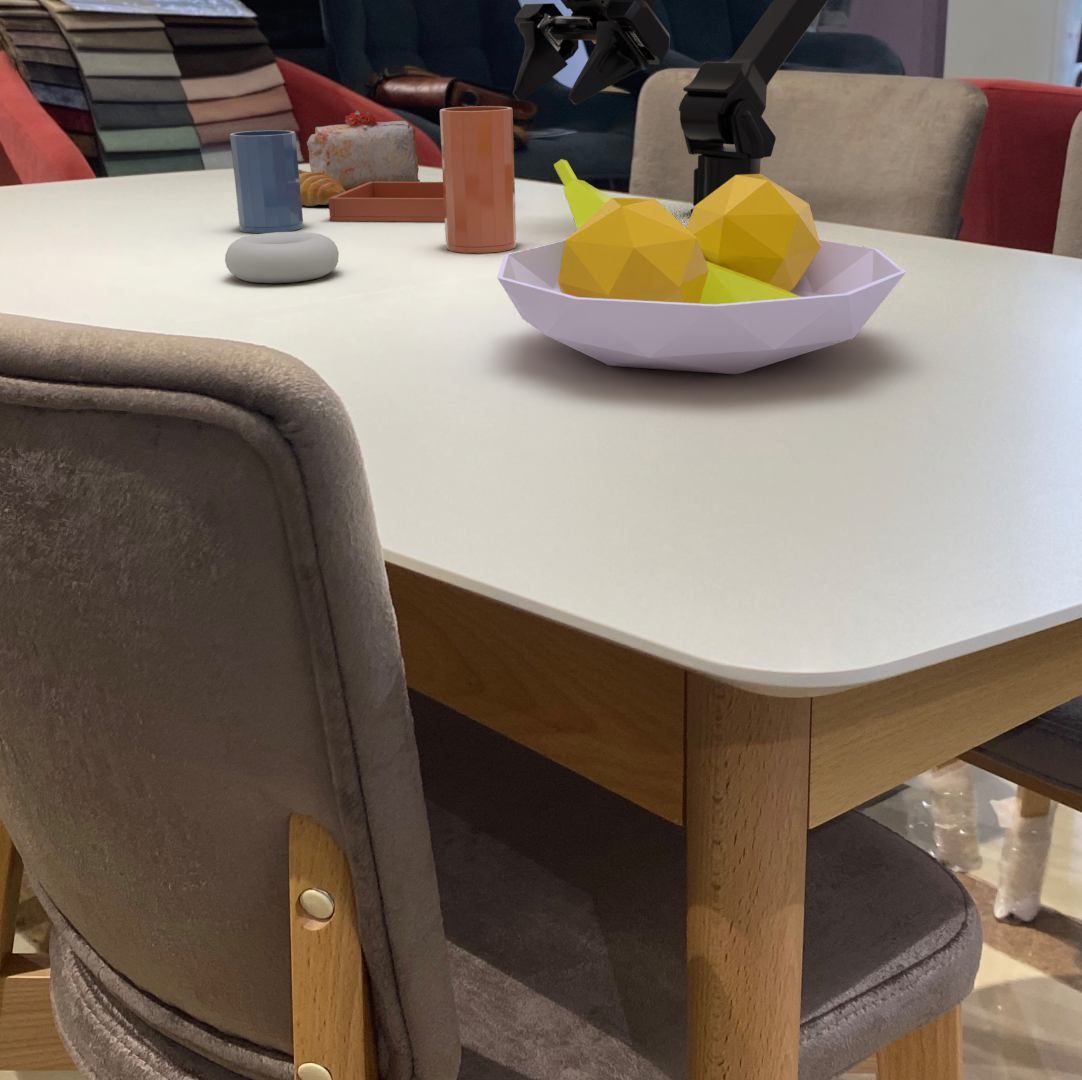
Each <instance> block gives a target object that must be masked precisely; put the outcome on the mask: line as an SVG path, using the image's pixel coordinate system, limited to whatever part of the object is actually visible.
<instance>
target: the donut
mask: <svg viewBox="0 0 1082 1080" xmlns="http://www.w3.org/2000/svg"><path fill="white" fill-rule="evenodd" d="M339 254H340V253H339V249H338V246H337V245H336V243H335V241H334V240H332V239H331V238H330V237H328V236H326V235H325V234H324V235H323V234H322V233H317V232H308V231H307V232H306V231H288V232H275V233H256V234H251V235H246V236H242V237H240V238H238V239H236V240H234V241H232V242H231V243H230V245H229V246H228V247H227V250H226V252H225V255H224V262H225V266H226V268H227V270H228V271H229V272H230V273H231V275H233V276H234V277H236V278H237V279H239V280H242V281H244V282H249V283H256V284H290V283H298V282H306V281H313V280H316V279H319V278H323V277H325V276H326V275H328V274H330V273H332V272H333V271H334V270H335V269H336V268H337V265H338V263H339V256H340V255H339Z"/></svg>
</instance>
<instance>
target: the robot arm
mask: <svg viewBox="0 0 1082 1080" xmlns="http://www.w3.org/2000/svg"><path fill="white" fill-rule="evenodd" d="M828 1H829V0H773V1H772V2H771V3H770V4H769V6H768V8H767V9H766V10H765V11H764V13H763V15H762V16H761V17H760V18H759V20H758V21H757V22H756V24H755V26H754V27H753V28H752V29H751V31H750V32H749V33H748V35H747V36H746V37H745V39H744V40H743V42H742V43H741V44H740V46H739V47H738V49H737V50H736V51H735V53H734V54H733V56H732V57H731V58H730V59H729V60H728V61H727V62H725V61H723V62H722V61H705V62H704V63H703V64H702V65H700V67H699V68H698V71H697V72H696V74H695V76H694V78H693V79H692V81H690V83H689V84H687V85H685V86H684V87H683V89H682V90H683V92H685V95H683V97H682V98H681V101H680V103H679V106H678V111H679V121H680V127H681V130H682V132H683V136H684V140H685V144H686V148H687V153H688V154H689V155H691V156H692V155H697V167H696V168H694V170H693V188H692V189H693V190H692V205H693V207H692V208H690V214H692V212H693V209H694V206H695V205H697V204H698V203H699V202H701V201H702V200H703V199H705V198H706V197H707V196H709V195H710V194H711V193H712V192H714V191H715V190H716V189H718V188H719V187H720V186H722V185H723V184H724V183H726V182H727V181H728V180H730V179H731V178H732V177H734V176H735V175H745V174H761V160H762V159H764V158H770V157H772V154H773V151H774V148H775V143H776V139H777V137H776V135H775V134H774V132H773V131H772V129H771V128H770V126H769V125H768V124H767V122H766V121H765V119H764V118H763V114H764V112H765V111H766V107H767V96H768V95H767V94H768V86H769V84H770V82H771V81H772V79H773V78H774V76H775V75H776V74H777V72H778V71H779V70H780V68H781V67H782V65H783V64H784V62H785V61H786V60H787V58H788V57H789V55H790V54H791V53H792V52H793V50H794V48H795V47H796V46H797V45H798V43H799V42H800V41H801V39H802V37H803V36H804V35H805V33H806V32H807V30H808V29H809V28H810V26H811V25H812V24H813V22H814V21H815V19H816V18H817V17H818V15H820V13H821V11H822V10H823V8H824V7H825V5H826V4H827V3H828ZM560 2H561V3H562V4H563V5H564V7H565V8H566V9H567V10H570V11H571V12H572V13H571V14H570V15H564V14H563V13H562V12H561V10H560V9H559V8H558V7H557V6H556V4H555V3H554V2H553V3H551V2H550V3H525V4H523V6H522V7H521V8H520V10H519V11H518V13H517V14H516V16H515V17H514V24H515V25H516V26H517V27H518V31H519V33H520V34H521V35H522V37H523V41H524V52H523V56H522V60H521V63H520V67H519V70H518V74H517V78H516V81H515V84H514V88H513V91H512V94H513V96H514V97H515V99H516V100H517V101H523V100H524V99H526V98H527V97H529V96H530V95H531V94H533V93H534V92H535V91H537V90H538V89H539V88H540V87H542V86H543V85H544V84H545V83H546V82H548V81H549V80H551V79H552V78H553V77H554V76H556V75H557V74H559V72H562V70H563V69H565V68H566V67H567V66H568V64H569V63H568V62H567V61H568V60H569V59H571V58H572V57H573V56H574V55H576V52H577V51H578V49H579V47H580V46H579V43H580V42H579V41H591V42H592V43H593V44H594V45H595V46H594V48H593V50H592V52H591V53H590V55H589V58H588V59H587V60H586V63H585V64H584V66H583V67H582V69H581V71H580V73H579V74H578V77H577V78H576V80H575V81H574V83H573V86H572V88H571V90H570V92H569V94H568V99H569V100H570V102H571V103H572V104H573V105H578V104H580V103H582V102H584V101H586V100H588V99H589V98H591V97H593V96H594V95H596V94H598V93H599V92H601V91H604V90H605V89H607V88H609V87H611V86H612V85H614V84H616V83H619V82H621V81H622V80H624V79H626V78H628V77H630V76H632V75H634V74H636V73H637V72H640V71H646V70H647V69H648V68H649V67H650V65H660V64H661V63H662V61H663V60H664V58H665V57H666V55H667V54H668V52H670V50H671V34H670V33H669V32H668V30H667V29H666V28H665V26H664V24H663V23H662V22H661V20H660V19H659V18H658V16H657V15H656V13H655V12H654V10H653V8H654V7H655V6H656V3H655V1H654V0H560Z"/></svg>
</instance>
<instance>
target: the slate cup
mask: <svg viewBox="0 0 1082 1080" xmlns="http://www.w3.org/2000/svg"><path fill="white" fill-rule="evenodd" d="M229 139H230V149H231V158H232V167H233V169H232V170H233V178H234V188H235V196H236V205H237V206H236V207H237V216H238V224H239V231H241V232H242V233H248V234H264V233H275V232H295V231H299V230H301V229H302V228H304V216H303V206H302V204H301V192H300V181H299V170H300V169H299V159H298V147H297V135H296V132H295V131H294V130H283V129H281V130H279V129H275V130H272V129H271V130H270V129H267V130H250V131H249V130H248V131H239V132H231V133H230V134H229Z"/></svg>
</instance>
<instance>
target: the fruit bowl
mask: <svg viewBox="0 0 1082 1080" xmlns="http://www.w3.org/2000/svg"><path fill="white" fill-rule="evenodd" d="M553 167H554V170H555V172H556V173H557V175H558V177H559V179H560V181H561V183H562V184H563V188H562V189H563V193H564V197H565V199H566V202H567V205H568V208H569V210H570V212H571V215H572V218H573V220H574V223H575V226H576V228H577V229H576V230H575V231H574V232H572V234H571V235H569V236H568V237H567V238H566V239H564V240H560V241H556V242H552V243H547V244H544V245H539V246H535V247H531V248H527V249H523V250H519V251H515V252H514V251H513V252H510V253H506V254H503V257H502V261H501V263H500V268H499V270H498V273H497V274H498V275H497V280H498V282H499V284H500V285H501V287H502V288H503V290H504V291H505V293H506V294H507V297H509V299H510V301H511V302H512V304H513V306H514V307H515V309H516V311H517V313H518V314H519V316H520V317H521V319H522V320H523V321H525V322H526V323H527V324H529V325H531V327H533V328H535V329H536V330H538V331H539V332H540V333H541V334H543V335H544V336H546V337H549V338H551V339H553V340H555V341H557V342H558V343H561V344H563V345H565V346H567V347H570V348H572V349H574V350H576V351H578V352H579V353H582V354H584V355H586V356H588V357H590V358H592V359H595V360H597V361H598V362H601V363H602V364H604V365H607V366H610V367H621V368H622V367H623V368H635V369H652V370H666V371H681V372H694V373H707V374H708V373H709V374H722V375H723V374H724V375H736V376H737V375H740V374H744V373H747V372H750V371H753V370H756V369H760V368H762V367H766V366H768V365H773V364H775V363H778V362H779V363H780V362H782V361H785V360H788V359H792V358H795V357H798V356H801V355H805V354H808V353H812V352H814V351H817V350H821V349H824V348H827V347H830V346H833V345H834V346H835V345H836V344H841V343H843V342H847V341H850V340H853V339H854V338H855V337H856V336H857V334H859V332H860V331H861V330H862V329H863V327H864V326H865V325H866V323H867V322H868V321H869V319H870V318H871V317H872V316H873V315H874V314H875V312H876V311H877V310H878V308H879V307H880V306H881V305H882V303H883V302H884V301H885V300H886V298H887V297H888V296H889V294H890V293H891V292H892V291H893V289H895V287H896V286H897V285H898V284H899V282H900V281H901V280H902V278H903V277H904V276H905V275H906V273H907V271H906V270H904V269H903V268H902V267H901V266H899V265H898V264H897V263H896V262H895V261H893V260H892V259H891V258H890V257H888V256H887V255H886V254H885V253H883V252H882V251H881V250H880V249H878V248H873V247H867V246H863V245H862V246H861V245H856V244H849V243H843V242H837V241H831V240H827V239H821V238H819V235H818V231H817V228H816V224H815V220H814V216H813V213H812V210H811V206H810V203H808V202H807V201H805V200H804V199H802V198H801V197H799V196H797V195H795V194H794V193H792V192H790V191H789V190H787V189H786V188H784V187H783V186H781V185H780V184H778V183H777V182H774V181H773V180H772V179H770V178H768V177H767V176H765V175H763V174H762V173H760V174H745V175H735V176H734V177H732V178H731V179H730V180H728V181H727V182H726V183H724V184H723V185H722V186H720V187H719V188H718V189H716V190H715V191H714V192H712V193H711V194H710V195H709V196H707V197H706V198H705V199H703V200H702V201H701V202H699V203H698V204H697V205H695V206H694V205H693V208H694V209H693V212H692V213H691V215H690V217H689V220H688V224H687V227H686V226H684V224H682V222H681V221H679V220H678V219H677V218H676V217H675V216H674V215H673V214H672V213H671V212H670V211H668V210H667V209H666V208H665V206H663V204H662V203H660V202H659V201H658V200H657V199H655V198H635V197H611V196H609V195H607V194H606V193H605V192H603V191H601V190H600V189H598V188H596V187H595V186H593V185H591V184H590V183H588V182H587V181H585V180H582V179H578V177H577V176H576V174H575V173H574V171H573V169H572V167H571V165H570V163H569V162H568V160H567V159H562V158H560V159H559V160H558V161H557V162H555V163H553Z"/></svg>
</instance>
